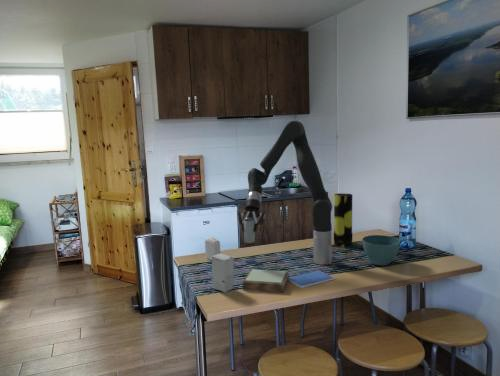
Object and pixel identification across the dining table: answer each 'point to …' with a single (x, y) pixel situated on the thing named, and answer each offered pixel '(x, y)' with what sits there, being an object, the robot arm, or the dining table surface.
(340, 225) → the container
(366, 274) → the dining table surface
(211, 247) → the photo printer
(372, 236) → the plant pot
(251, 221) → the ceramic jar
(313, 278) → the blue notebook
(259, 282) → the plinth
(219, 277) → the skincare box
